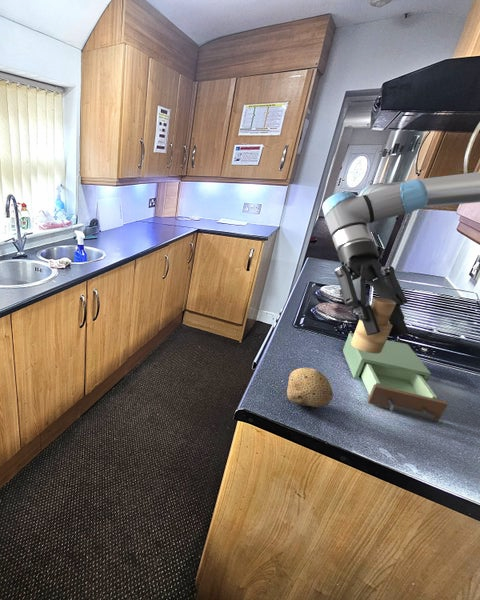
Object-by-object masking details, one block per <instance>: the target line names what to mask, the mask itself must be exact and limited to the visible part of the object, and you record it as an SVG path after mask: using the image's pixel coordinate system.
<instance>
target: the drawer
mask: <svg viewBox="0 0 480 600" xmlns="http://www.w3.org/2000/svg"><path fill="white" fill-rule="evenodd" d="M360 375H361V377H362V379H363V380H362V382H363V384H364V386H365V389H366V390H367V393H368V397H367V403H368V404H370V405H374V406H378V407H381V408H385V409H389V411H390V412H393V413H396V414H400V415H404V416H408V417H411V418H415V419H418V420H422V421H426V422H428V423H429V422H430V423H434V422H439V421H440V419H441V417H442V416H443V414H444V412H445V411H446V409H447V407H448V405H449V404H448V402H447V401H445V400H443V399H442V400H441V399H438V396H437V395H436V393H435V392H434V391H433V389H432V388H431V387H430V385H429V384H428V382H426V381H425V380H424V379H423V377H422V376H421V375H420V374H417V373H412V372H408V371H403V370H399V369H394V368H390V367H385V366H381V365H376V364H372V363H367V362H365V363H364V365H363V368H362V370H361V372H360Z"/></svg>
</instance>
